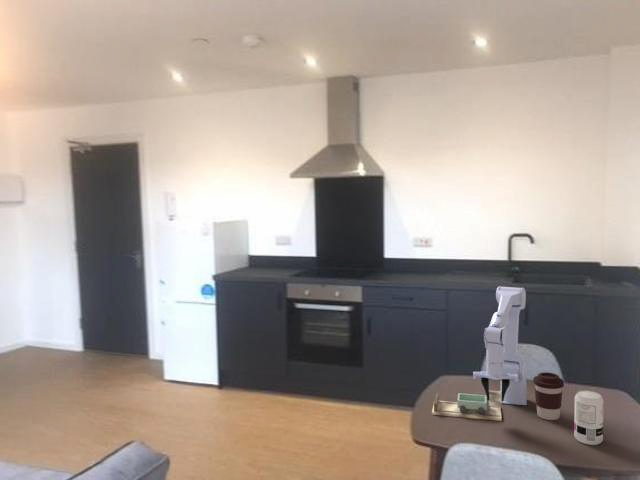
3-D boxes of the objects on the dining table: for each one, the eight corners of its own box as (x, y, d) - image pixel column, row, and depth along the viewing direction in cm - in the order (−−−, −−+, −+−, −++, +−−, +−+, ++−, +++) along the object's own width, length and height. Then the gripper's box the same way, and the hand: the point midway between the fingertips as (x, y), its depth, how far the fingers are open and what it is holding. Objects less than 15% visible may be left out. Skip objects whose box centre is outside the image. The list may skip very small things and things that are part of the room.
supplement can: (568, 435, 171) (569, 390, 170) (592, 433, 172) (593, 389, 171) (583, 446, 163) (584, 400, 162) (608, 445, 164) (609, 398, 163)
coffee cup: (550, 424, 179) (550, 382, 178) (527, 414, 188) (527, 373, 187) (569, 418, 184) (570, 376, 182) (546, 408, 192) (546, 368, 191)
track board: (500, 408, 194) (500, 397, 193) (501, 420, 183) (501, 409, 183) (434, 402, 201) (434, 392, 200) (431, 414, 190) (431, 403, 190)
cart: (489, 404, 194) (489, 394, 194) (490, 414, 185) (490, 404, 185) (458, 401, 197) (458, 392, 197) (457, 411, 188) (457, 401, 188)
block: (501, 402, 182) (501, 391, 182) (501, 406, 178) (501, 395, 178) (489, 401, 183) (489, 390, 183) (489, 405, 180) (489, 394, 179)
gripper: (473, 363, 178) (473, 402, 179) (518, 366, 174) (518, 406, 175) (473, 357, 185) (473, 394, 186) (516, 360, 181) (516, 398, 182)
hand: (495, 399), depth 181 cm, fingers closed on block, 4 cm apart
